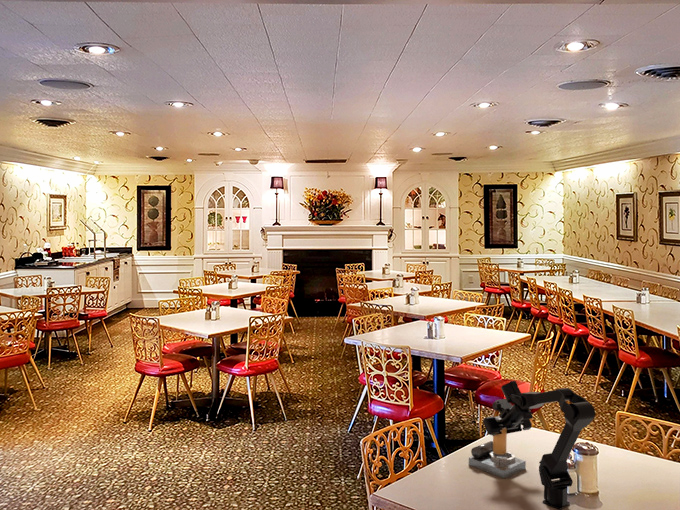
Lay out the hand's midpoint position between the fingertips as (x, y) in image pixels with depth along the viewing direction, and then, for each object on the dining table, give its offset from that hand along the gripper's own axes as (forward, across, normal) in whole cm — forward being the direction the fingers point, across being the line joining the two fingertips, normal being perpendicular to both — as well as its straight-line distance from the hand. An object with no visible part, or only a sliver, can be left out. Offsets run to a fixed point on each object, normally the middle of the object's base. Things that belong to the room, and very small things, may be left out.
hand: (497, 433), depth 221 cm
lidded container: (+4, 0, +6) cm, 7 cm away
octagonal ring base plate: (+8, +1, +10) cm, 13 cm away
